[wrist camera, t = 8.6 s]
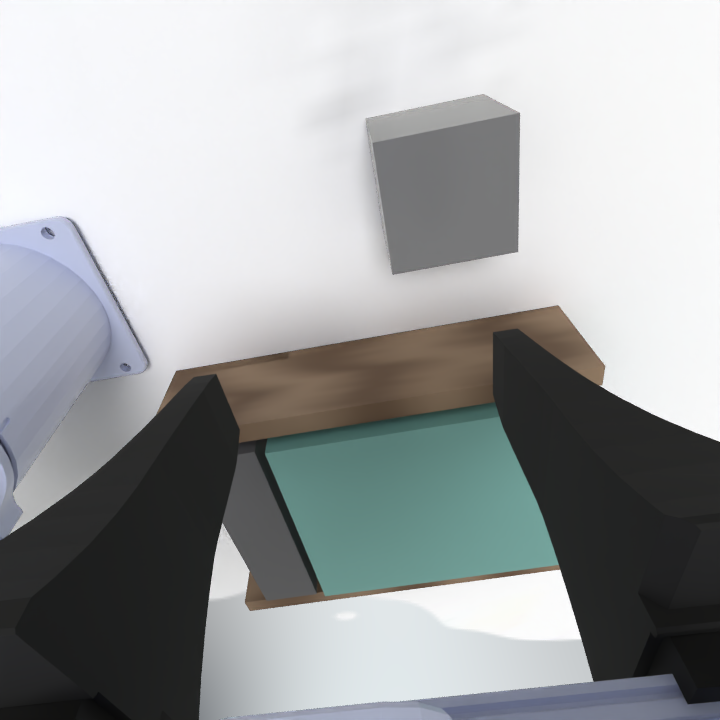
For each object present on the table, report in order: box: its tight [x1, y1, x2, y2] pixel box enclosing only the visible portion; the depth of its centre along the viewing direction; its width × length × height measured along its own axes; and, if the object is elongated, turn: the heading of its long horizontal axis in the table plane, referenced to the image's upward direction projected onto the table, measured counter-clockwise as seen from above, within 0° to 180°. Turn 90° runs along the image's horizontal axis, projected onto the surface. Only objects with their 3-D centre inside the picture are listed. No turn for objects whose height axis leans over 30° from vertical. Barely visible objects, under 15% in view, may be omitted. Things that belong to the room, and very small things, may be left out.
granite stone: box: [366, 94, 520, 275], centre depth 18 cm, size 4×4×4 cm
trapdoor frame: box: [156, 306, 605, 611], centre depth 26 cm, size 20×15×5 cm
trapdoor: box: [222, 402, 559, 601], centre depth 25 cm, size 18×12×3 cm
